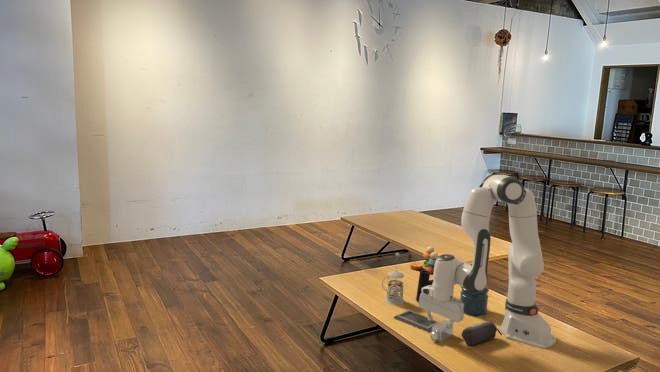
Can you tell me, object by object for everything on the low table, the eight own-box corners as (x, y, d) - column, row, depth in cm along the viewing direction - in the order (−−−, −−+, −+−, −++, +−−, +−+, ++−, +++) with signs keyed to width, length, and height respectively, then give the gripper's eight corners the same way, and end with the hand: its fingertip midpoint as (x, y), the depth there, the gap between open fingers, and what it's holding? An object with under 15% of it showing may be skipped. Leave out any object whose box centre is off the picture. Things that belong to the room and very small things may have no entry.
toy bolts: (406, 265, 301) (407, 245, 299) (431, 263, 306) (433, 244, 304) (419, 275, 284) (421, 254, 282) (446, 273, 288) (447, 253, 286)
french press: (404, 305, 239) (407, 256, 235) (380, 303, 241) (383, 254, 237) (405, 298, 248) (408, 251, 244) (382, 295, 250) (384, 248, 246)
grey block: (452, 336, 209) (453, 322, 208) (437, 345, 200) (438, 332, 199) (443, 332, 212) (444, 319, 211) (428, 342, 203) (429, 328, 202)
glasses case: (484, 333, 213) (485, 316, 211) (504, 343, 204) (505, 325, 203) (455, 342, 203) (456, 325, 202) (474, 353, 194) (476, 335, 193)
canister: (456, 312, 233) (459, 277, 230) (462, 303, 244) (465, 269, 241) (484, 319, 227) (487, 283, 224) (489, 309, 238) (492, 274, 235)
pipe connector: (430, 297, 253) (434, 269, 251) (437, 300, 248) (441, 272, 246) (413, 299, 246) (417, 270, 245) (420, 302, 242) (425, 273, 240)
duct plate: (442, 326, 218) (442, 322, 218) (428, 333, 210) (428, 329, 210) (408, 312, 231) (408, 308, 231) (393, 318, 224) (393, 315, 223)
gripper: (468, 299, 199) (464, 331, 201) (426, 284, 213) (424, 314, 215) (460, 303, 194) (456, 335, 197) (418, 287, 209) (415, 317, 211)
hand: (439, 324), depth 206 cm, fingers open, 8 cm apart
